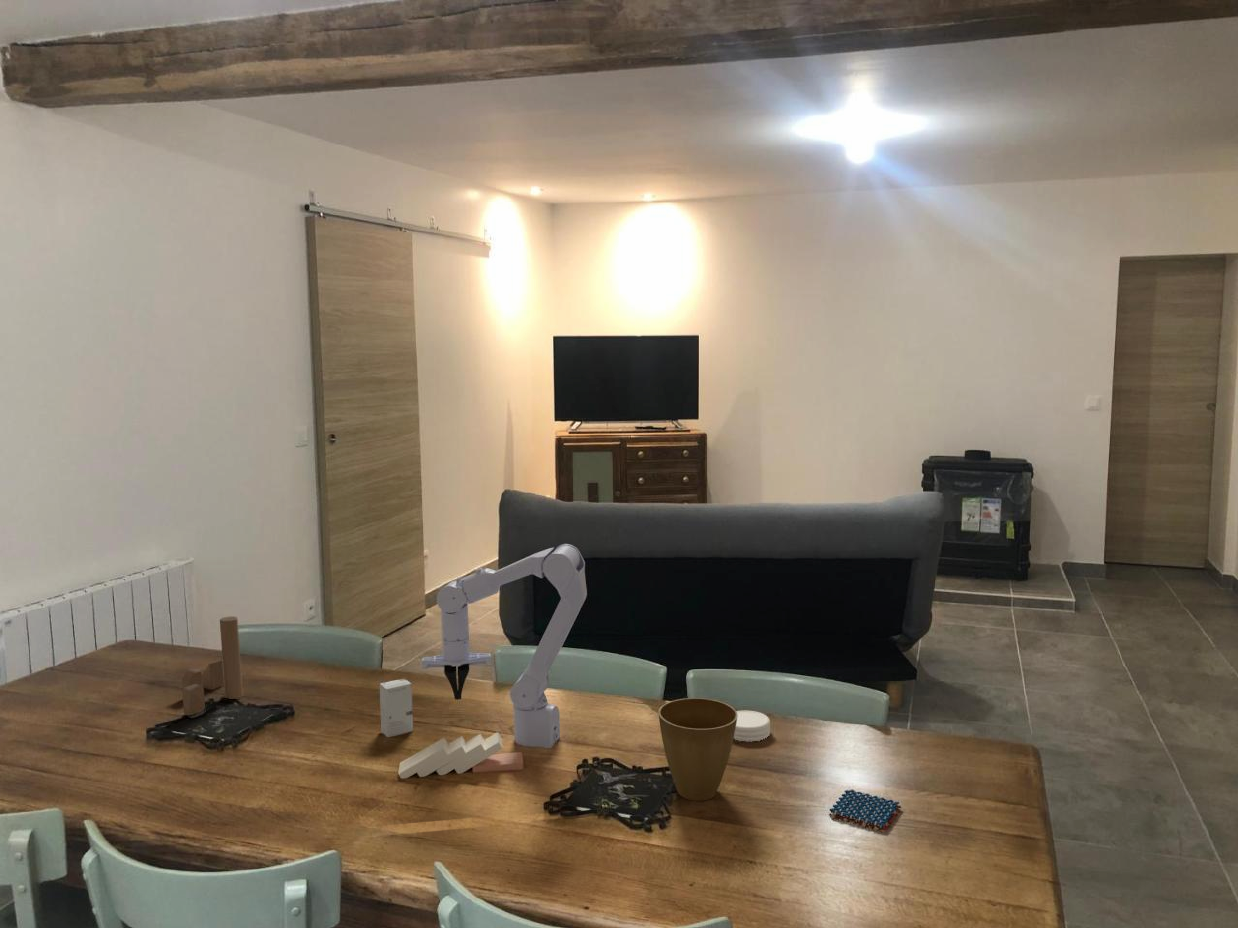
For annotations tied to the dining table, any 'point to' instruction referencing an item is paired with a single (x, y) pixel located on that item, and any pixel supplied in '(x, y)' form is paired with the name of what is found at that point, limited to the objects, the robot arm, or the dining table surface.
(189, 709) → the wooden blocks
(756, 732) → the white round disc
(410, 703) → the skincare box
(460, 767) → the domino
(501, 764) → the end domino
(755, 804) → the dining table surface
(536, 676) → the robot arm
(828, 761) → the dining table surface
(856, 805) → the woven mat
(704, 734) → the plant pot
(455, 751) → the domino
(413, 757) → the domino
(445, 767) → the domino
